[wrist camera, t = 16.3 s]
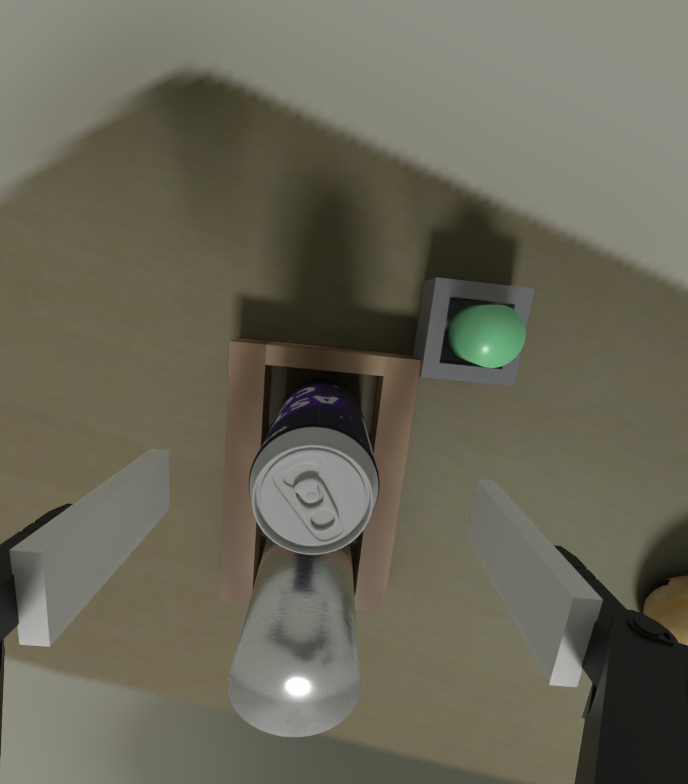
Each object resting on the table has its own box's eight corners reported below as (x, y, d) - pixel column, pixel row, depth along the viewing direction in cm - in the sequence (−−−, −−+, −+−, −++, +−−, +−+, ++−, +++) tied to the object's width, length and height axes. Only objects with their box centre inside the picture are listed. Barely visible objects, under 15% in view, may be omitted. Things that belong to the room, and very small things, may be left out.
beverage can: (342, 364, 25) (350, 411, 14) (373, 434, 27) (404, 533, 15) (269, 396, 26) (215, 468, 14) (302, 464, 27) (279, 582, 15)
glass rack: (413, 355, 25) (421, 360, 23) (379, 587, 30) (383, 612, 27) (239, 337, 25) (229, 340, 22) (230, 577, 29) (220, 601, 26)
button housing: (511, 290, 25) (534, 288, 22) (493, 377, 26) (514, 386, 23) (423, 281, 24) (436, 277, 21) (410, 369, 26) (420, 377, 23)
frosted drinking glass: (354, 497, 28) (370, 641, 16) (343, 563, 29) (350, 741, 17) (275, 488, 27) (232, 629, 16) (268, 556, 29) (223, 732, 17)
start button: (505, 308, 22) (531, 308, 19) (494, 362, 23) (518, 370, 20) (451, 302, 22) (469, 301, 19) (442, 357, 23) (458, 364, 20)
